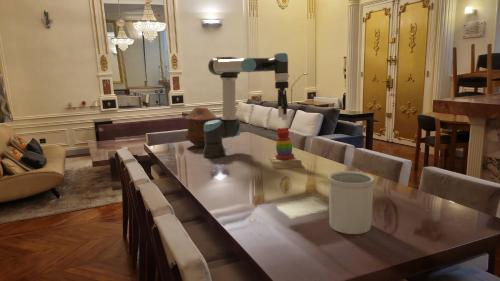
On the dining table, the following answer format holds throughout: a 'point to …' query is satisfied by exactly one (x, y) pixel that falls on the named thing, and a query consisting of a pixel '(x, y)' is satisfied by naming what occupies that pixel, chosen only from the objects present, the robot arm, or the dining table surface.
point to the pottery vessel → (198, 125)
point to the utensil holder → (350, 201)
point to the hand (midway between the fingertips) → (282, 118)
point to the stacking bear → (284, 144)
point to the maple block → (285, 162)
